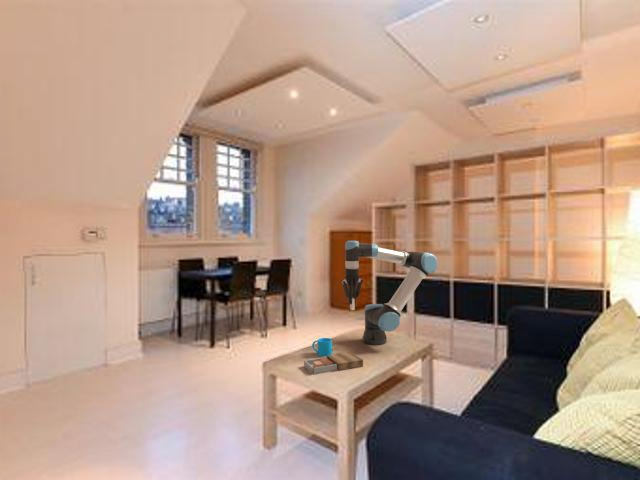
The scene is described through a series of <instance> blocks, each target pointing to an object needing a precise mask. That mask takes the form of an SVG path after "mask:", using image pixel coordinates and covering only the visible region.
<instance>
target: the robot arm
mask: <svg viewBox="0 0 640 480" xmlns="http://www.w3.org/2000/svg"><path fill="white" fill-rule="evenodd" d="M344 247H345V248H344V250H345V256H344V257H345V263H344V264H345V267H344V268H345V272H344V273H345V278H344V279H343V280H342V281H341V284H342V287H343V291H344V295H345V298H348V305H349V309H350V310H351V311H355V309H356V307H355V304H357V303H356V302H357V298H359V297H360V293H361V287H362V284H363V281H364V280H363V279H361V278H360V276H359V275H360V274H359V273H360V272H359V271H360V269H359V268H360V265H359V263H360V262H359V260H360V258H369V259H374V260H378V261H379V260H380V261H383V262H388V263H394V264H398V265H399V266H400V267H404V268H408V269H409V272H408V273H407V275H406V276H405V278H404V280H403V281H402V282H401V284H400V285H399V287H398V288H397V290H396V291H395V292H394V293H393V296H392V297H391V299H390V300H389V301H388V302H387V303H385V302H384V304H382V303H370V304H366V305H365V306H364V331H363V334H362V337H361V340H362V343H364V344H367V345H374V346H378V345H379V346H380V345H385V344H387V342H388V338H387V334H386V332H388V333H391V332H394V331H396V330H397V329H398V328H399V326H400V323H401V316H402V310H403V309H404V307H405V305H407V303H408V301H409V299H410V298H411V297H412V295H413V294H414V292H415V291H416V289H417V288H418V286H419V285H420V284H421V282H422V280H423V279H427V278H428V276H429V275H430V274H432V273H435V272H436V270H437V269H438V266H439V263H438V258H437V256H436V255H434V254H433V253H429V252H423V251H422V252H421V251H406V250H401V251H399V250H395V249H394V250H392V249H389V248H384V247H379V246H378V245H377V244H376V243H364V242H363V243H361V242H359V241H358V240H346V242H345V245H344Z"/></svg>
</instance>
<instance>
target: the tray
mask: <svg viewBox="0 0 640 480" xmlns="http://www.w3.org/2000/svg"><path fill="white" fill-rule="evenodd" d="M321 358H322V357H319V358H313V359H306V360H303V366H304V368H305V369H306V370H307V371H309V372H310V373H311V374H312V375H319V374H325V373H329V372H334V371H338V370H337V364H333V365H326V364H325V366H322V367H316V368H314V367H313V362H315V361H321ZM325 358H327V357H325Z"/></svg>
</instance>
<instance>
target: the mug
mask: <svg viewBox="0 0 640 480" xmlns="http://www.w3.org/2000/svg"><path fill="white" fill-rule="evenodd" d="M316 343H317V349H316V347H315V344H316ZM311 346H312V347H311V348H312V349H313V351H314V352H316V353H317V356H319V357H320V358H322V357H323V356H324V357H327V355H332V354H333V339H332V338H329V337H321V338H318V339H317V340H315V341H313V342H312V344H311Z"/></svg>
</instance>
